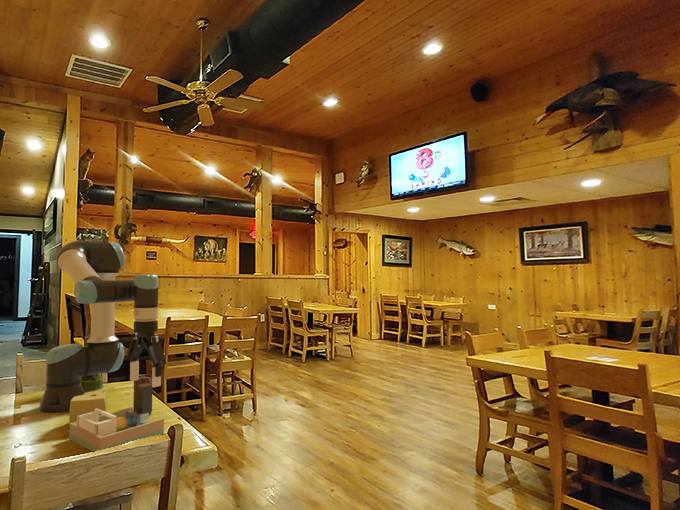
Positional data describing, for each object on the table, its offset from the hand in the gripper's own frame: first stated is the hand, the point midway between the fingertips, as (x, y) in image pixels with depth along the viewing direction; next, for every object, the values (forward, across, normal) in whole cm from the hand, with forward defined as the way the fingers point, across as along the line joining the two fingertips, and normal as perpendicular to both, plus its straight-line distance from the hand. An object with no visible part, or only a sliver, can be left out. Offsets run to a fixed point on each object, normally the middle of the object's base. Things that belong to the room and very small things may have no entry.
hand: (145, 383), depth 148 cm
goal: (+13, 0, -15) cm, 20 cm away
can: (+15, -14, +7) cm, 22 cm away
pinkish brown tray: (+15, 0, -9) cm, 18 cm away
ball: (+11, 0, -8) cm, 14 cm away
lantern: (+14, -66, +12) cm, 68 cm away
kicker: (+13, 0, -1) cm, 13 cm away
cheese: (+15, -20, -9) cm, 26 cm away
